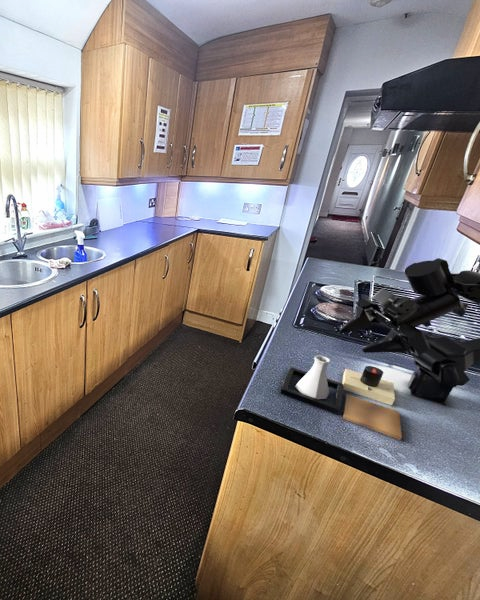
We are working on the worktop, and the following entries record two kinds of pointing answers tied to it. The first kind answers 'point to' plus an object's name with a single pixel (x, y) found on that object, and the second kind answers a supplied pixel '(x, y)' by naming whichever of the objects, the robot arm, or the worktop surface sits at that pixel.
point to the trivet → (372, 416)
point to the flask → (315, 379)
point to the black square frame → (311, 400)
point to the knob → (371, 376)
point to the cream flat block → (368, 387)
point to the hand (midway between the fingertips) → (351, 340)
